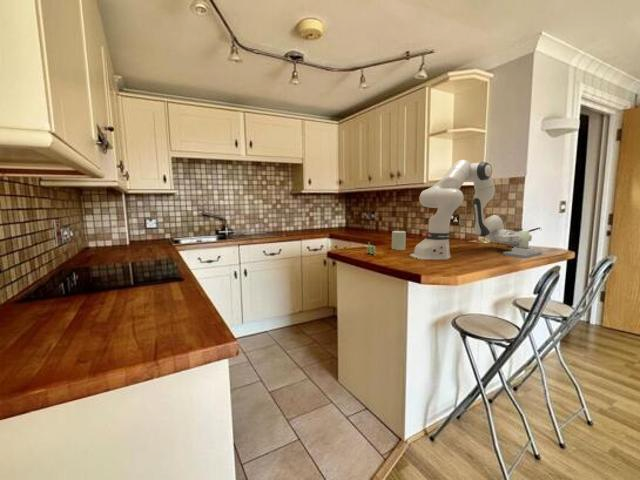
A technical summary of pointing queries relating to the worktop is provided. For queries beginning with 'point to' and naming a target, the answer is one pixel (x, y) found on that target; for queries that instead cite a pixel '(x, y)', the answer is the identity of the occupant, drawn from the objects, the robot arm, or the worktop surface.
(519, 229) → the coffee pot
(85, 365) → the worktop surface
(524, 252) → the base board
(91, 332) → the worktop surface
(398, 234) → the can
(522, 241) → the post
